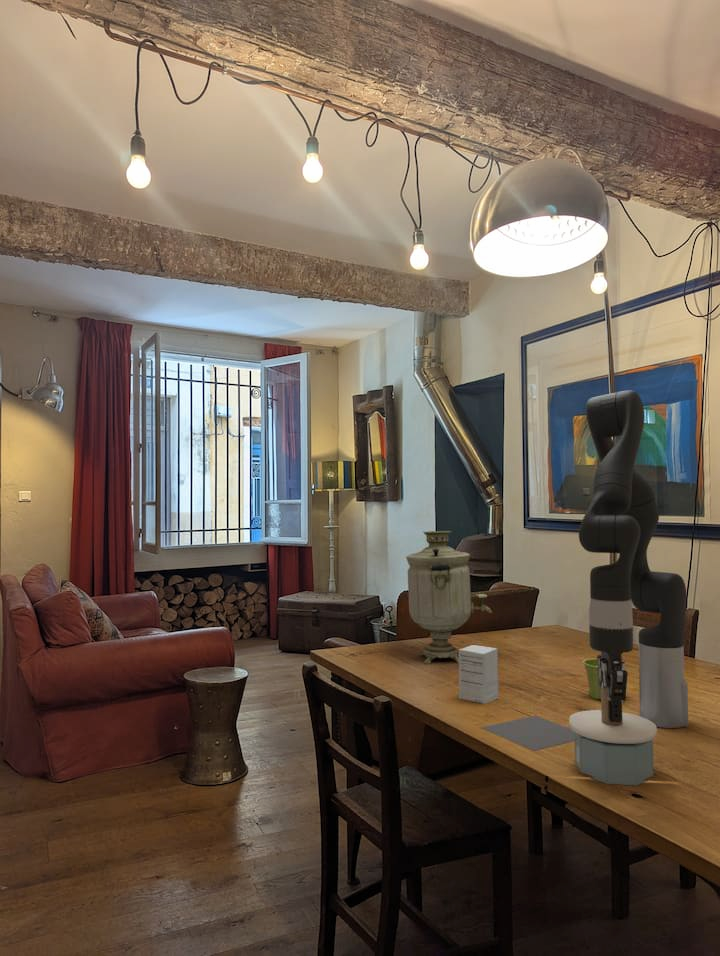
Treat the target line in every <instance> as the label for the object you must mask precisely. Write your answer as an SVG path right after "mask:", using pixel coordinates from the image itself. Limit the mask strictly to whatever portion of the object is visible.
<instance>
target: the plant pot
mask: <svg viewBox="0 0 720 956" xmlns="http://www.w3.org/2000/svg"><path fill="white" fill-rule="evenodd" d="M582 664H583V665H584V668H585V671H586V675H587V676H586V677H587V683H588V690H589V692H588V693H589V696H590V697H591V698H592V699H594V700H597V699H599V700H601V688H602V687H600V685H599V671H598V659H597V658H588V659H584V660H583V661H582Z"/></svg>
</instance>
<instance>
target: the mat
mask: <svg viewBox="0 0 720 956" xmlns="http://www.w3.org/2000/svg"><path fill="white" fill-rule="evenodd" d="M480 729H482V730H485V731H488V732H490V733H492V734H494V735H496V736H498V737H501V738H504V739H505V740H507V741H511V742H512V743H515V744H517V745H518V746H522V747H524V748H526V749H528V750H531V751H533V752H536V751H540V750H544V749H548V748H551V747H556V746H560V745H561V746H562V745H564V744H568V743H572V742H575V732H574V731H572V730H571V728H570V727H566V726H564V725H561V724H559V723H556V722H553V721H550V720H549V719H546V718H542V717H540V716H537V715H533V716H527V717H523V718H519V719H513V720H509V721H503V722H501V723H495V724H490V725H485V726H481V727H480Z"/></svg>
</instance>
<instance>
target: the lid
mask: <svg viewBox="0 0 720 956" xmlns="http://www.w3.org/2000/svg"><path fill="white" fill-rule="evenodd" d="M614 693H619V692H618V690H615V691H614ZM607 696H608V695H607V688H606V687H602V688H601V699H600V700H601V701H600V704H601V705H600V706H601V709H591V710H582V711H577V712H575V713H572V714H571V715H570V716H569V718H568V719H569V720H568V721H569V722H568V723H569V724H568V725H569V728H570V729H571V730H572V731H574V732H575V733H577V734H579V735H581V736H584V737H587V738H590V739H593V740H598V741H603V742H609V743H619V744H636V743H644V742H648V741H651V740H652V741H653V740H654V739H656V738H657V736H658V730H657V729H658V728H657V726H656V725H655V724H654V723H653V722H652V721H650V720H648V719H646V718H643V717H640V715H638V714H637V715H636V714H632V713H630V712H623V711H622V721H621V722H610V721H609V719H608V699H607ZM621 702H622V701H621ZM622 703H623V702H622Z"/></svg>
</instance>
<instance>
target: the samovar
mask: <svg viewBox="0 0 720 956" xmlns="http://www.w3.org/2000/svg"><path fill="white" fill-rule="evenodd" d="M422 533H423V534H424V535H425V536H426V542H427V543H428V547H427V546H425V548H423V549H422V550H421V551H417V552H416V553H411V554H408V555H406V556H405V557H406V561H407V564H408V566H409V567H408V569H407V585H408V586H407V589H408V612H409V615H410V616H409V617H410V618H411V620H413V622H414V623H415V624H417V625H419V627H420V628H422V629H423V630H427V631H428V632H429V634H428V638H430V639H431V640H432V641H431V642H430V643H428V644H427V645H426V646H425V647H424V648H423V651H422V652H420V654H419V657H421V656H425V657H426V658H425V660H424V661H423V662H424V664H431V662H432V661H433V660H434V659H435V658H439V659H443V658H445V659H447V658H451V659H453V660H455V661H456V663H458V664H459V653H458V651H457V650H458V649H457V648H456V647H455V646H454V645H453V644H451V643H450V642H449V641H448V640H449V639H452V631H454V630H458V628H460V627H462V626H463V625H464V624H465V623H466V622H467V621H468V619H469V618H470V617H471V615H472V614H473V613H474V612H475V610H480V612H481V613H483V612H487V614H492V613H493V611H492V610H491V608H490V607H488V606H487V605H486V604H484V600H483V599H486V598H487V597H488V595H487V594H485V593H477V594H474V596H475V597H477V598H479V600H480V604H479V605H474V604H475V603H474V602H472V600H471V599H472V598H471V597H472V596H471V577H470V575H471V573H470V568H469V566H468V563H469V561H470V556H471V554H470V553H468V552H464V551H458V550H455V549H454V548H453V547H451V546H448V545H447V544H448V543H449V535H450V534H451V533H452V531H451V530H437V531H436V530H433V531H431V530H430V531H422Z"/></svg>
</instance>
